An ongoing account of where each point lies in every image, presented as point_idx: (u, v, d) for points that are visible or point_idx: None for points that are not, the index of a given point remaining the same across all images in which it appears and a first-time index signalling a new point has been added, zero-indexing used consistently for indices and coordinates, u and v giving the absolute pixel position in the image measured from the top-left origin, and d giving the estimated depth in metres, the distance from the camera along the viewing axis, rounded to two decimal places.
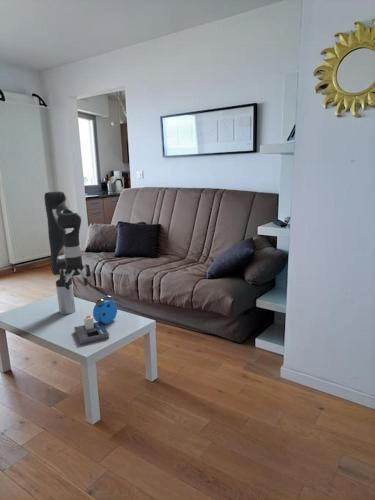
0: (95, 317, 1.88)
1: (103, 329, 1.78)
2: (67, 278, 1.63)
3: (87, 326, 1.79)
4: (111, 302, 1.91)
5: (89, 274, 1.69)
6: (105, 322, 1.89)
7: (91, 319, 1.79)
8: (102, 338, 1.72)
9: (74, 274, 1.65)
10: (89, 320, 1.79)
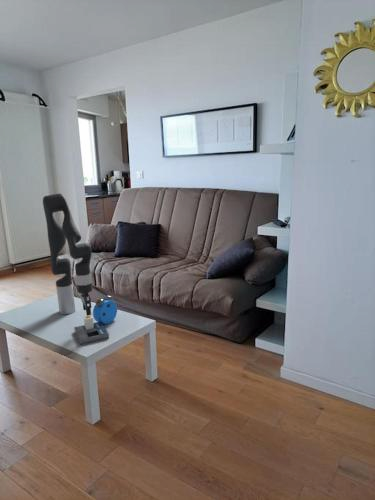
0: (95, 317, 1.88)
1: (103, 329, 1.78)
2: None
3: (87, 326, 1.79)
4: (111, 302, 1.91)
5: None
6: (105, 322, 1.89)
7: (91, 319, 1.79)
8: (102, 338, 1.72)
9: None
10: (89, 320, 1.79)
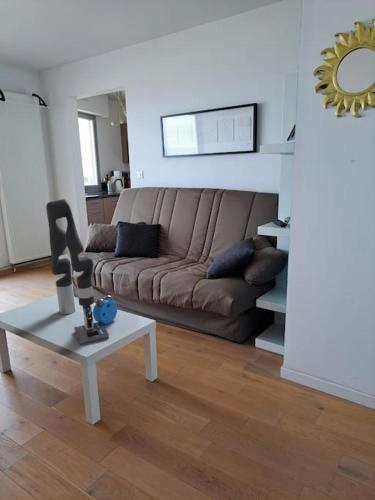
0: (95, 317, 1.88)
1: (103, 329, 1.78)
2: None
3: (87, 326, 1.79)
4: (111, 302, 1.91)
5: None
6: (105, 322, 1.89)
7: None
8: (102, 338, 1.72)
9: None
10: None
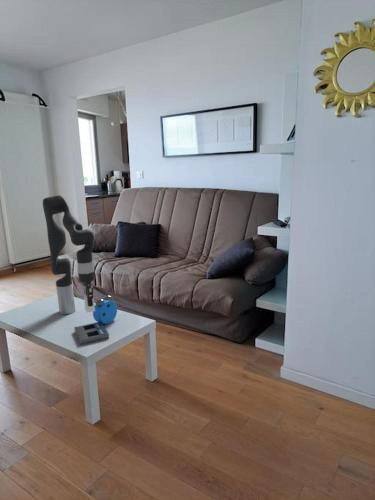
0: (95, 317, 1.88)
1: (103, 329, 1.78)
2: None
3: (87, 304, 1.68)
4: (111, 302, 1.91)
5: None
6: (105, 322, 1.89)
7: None
8: (102, 338, 1.72)
9: None
10: None
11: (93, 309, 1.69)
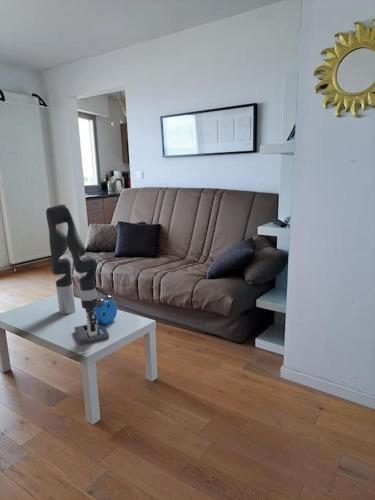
0: None
1: (103, 329, 1.78)
2: None
3: (90, 330, 1.70)
4: (111, 302, 1.91)
5: None
6: (105, 322, 1.89)
7: None
8: (102, 338, 1.72)
9: None
10: None
11: (96, 334, 1.72)
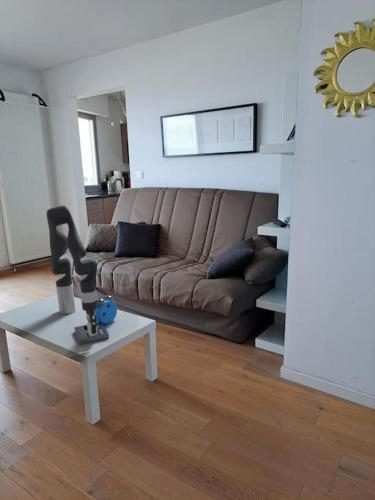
0: None
1: (103, 329, 1.78)
2: None
3: (91, 333, 1.71)
4: (111, 302, 1.91)
5: None
6: (105, 322, 1.89)
7: None
8: (102, 338, 1.72)
9: None
10: None
11: None
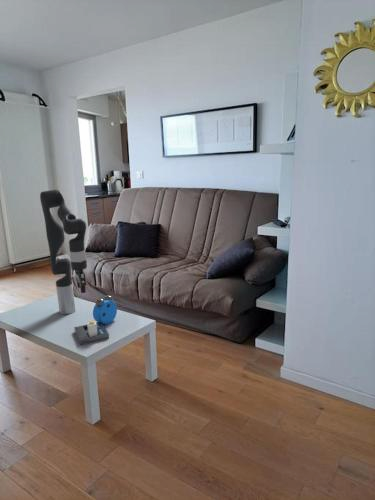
0: (95, 317, 1.88)
1: (103, 329, 1.78)
2: None
3: (91, 333, 1.71)
4: (111, 302, 1.91)
5: None
6: (105, 322, 1.89)
7: (95, 325, 1.71)
8: (102, 338, 1.72)
9: None
10: (93, 326, 1.71)
11: None
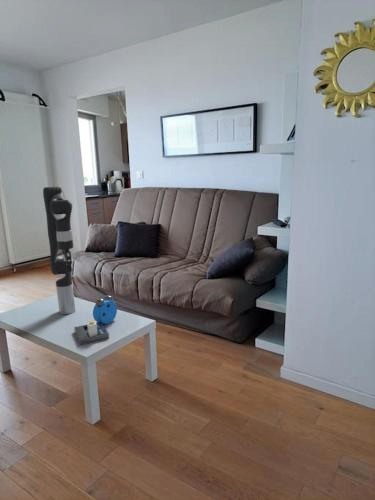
0: (95, 317, 1.88)
1: (103, 329, 1.78)
2: None
3: (91, 333, 1.71)
4: (111, 302, 1.91)
5: None
6: (105, 322, 1.89)
7: (95, 325, 1.71)
8: (102, 338, 1.72)
9: None
10: (93, 326, 1.71)
11: None
